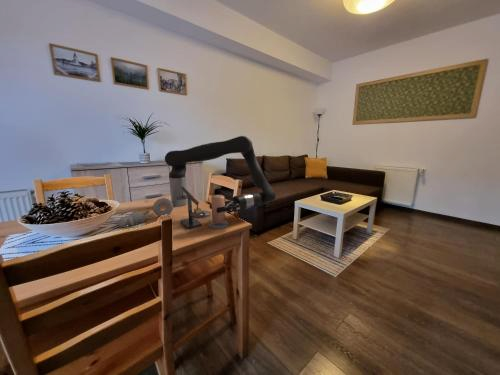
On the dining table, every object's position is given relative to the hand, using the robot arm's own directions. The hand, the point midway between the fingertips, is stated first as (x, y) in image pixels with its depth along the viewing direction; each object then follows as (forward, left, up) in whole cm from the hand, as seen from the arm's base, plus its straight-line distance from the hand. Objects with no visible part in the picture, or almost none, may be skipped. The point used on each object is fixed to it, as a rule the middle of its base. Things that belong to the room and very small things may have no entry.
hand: (213, 208), depth 95 cm
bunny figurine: (-27, -28, -9) cm, 40 cm away
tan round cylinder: (0, +2, -7) cm, 7 cm away
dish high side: (-18, +2, -9) cm, 20 cm away
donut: (-28, -15, -9) cm, 33 cm away
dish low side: (0, +2, -9) cm, 9 cm away
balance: (-9, -8, -9) cm, 15 cm away
